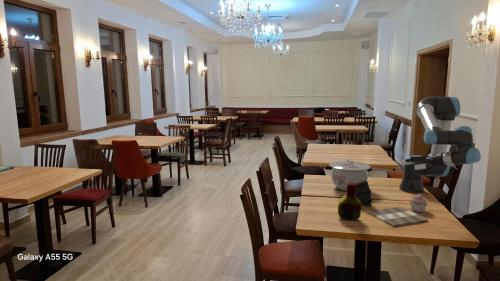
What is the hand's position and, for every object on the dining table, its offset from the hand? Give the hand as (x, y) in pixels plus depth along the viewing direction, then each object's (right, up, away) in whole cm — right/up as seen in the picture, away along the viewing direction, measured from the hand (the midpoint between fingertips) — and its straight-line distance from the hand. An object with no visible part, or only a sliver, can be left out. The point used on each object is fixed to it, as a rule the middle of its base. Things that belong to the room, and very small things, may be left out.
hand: (408, 164), depth 192 cm
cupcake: (+3, -26, -5) cm, 27 cm away
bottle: (-40, -28, -16) cm, 51 cm away
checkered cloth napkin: (-13, -27, -14) cm, 33 cm away
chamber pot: (-24, -19, +36) cm, 48 cm away
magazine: (-27, -24, +6) cm, 37 cm away
